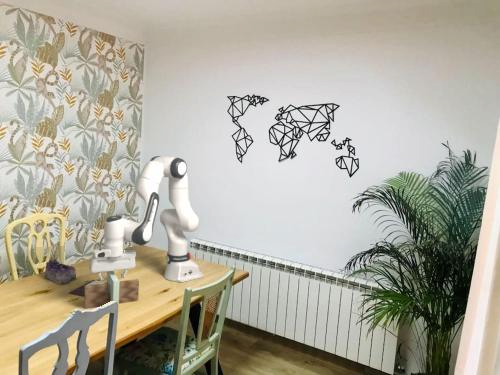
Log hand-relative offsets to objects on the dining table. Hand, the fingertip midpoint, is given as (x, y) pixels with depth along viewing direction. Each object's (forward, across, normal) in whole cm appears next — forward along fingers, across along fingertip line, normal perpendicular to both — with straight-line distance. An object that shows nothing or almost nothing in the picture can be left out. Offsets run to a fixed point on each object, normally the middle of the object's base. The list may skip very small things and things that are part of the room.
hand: (112, 279), depth 177 cm
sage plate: (+12, 0, 0) cm, 12 cm away
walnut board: (+12, 0, 0) cm, 12 cm away
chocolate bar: (+13, +7, -22) cm, 26 cm away
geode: (+12, +20, -41) cm, 47 cm away
